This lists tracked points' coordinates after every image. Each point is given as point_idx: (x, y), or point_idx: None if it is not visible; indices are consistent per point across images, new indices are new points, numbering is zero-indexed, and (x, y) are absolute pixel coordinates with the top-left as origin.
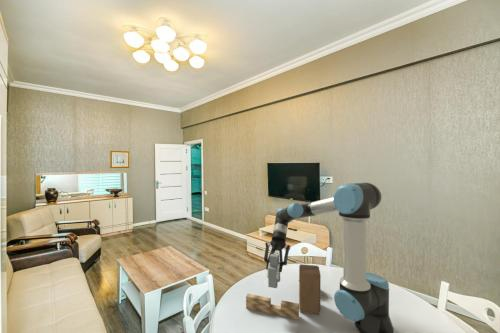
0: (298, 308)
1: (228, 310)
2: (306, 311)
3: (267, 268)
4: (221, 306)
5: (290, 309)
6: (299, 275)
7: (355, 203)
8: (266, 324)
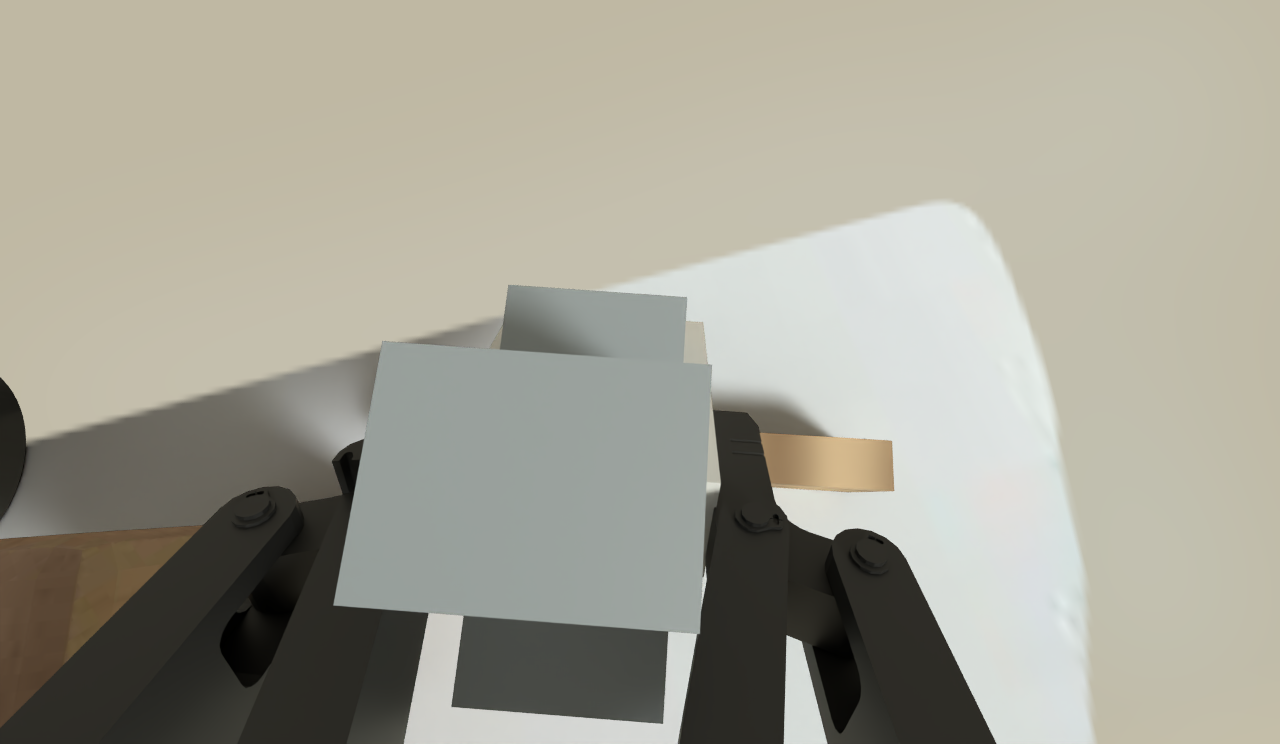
0: None
1: (967, 384)
2: None
3: (722, 418)
4: (1045, 416)
5: None
6: (158, 563)
7: None
8: None
